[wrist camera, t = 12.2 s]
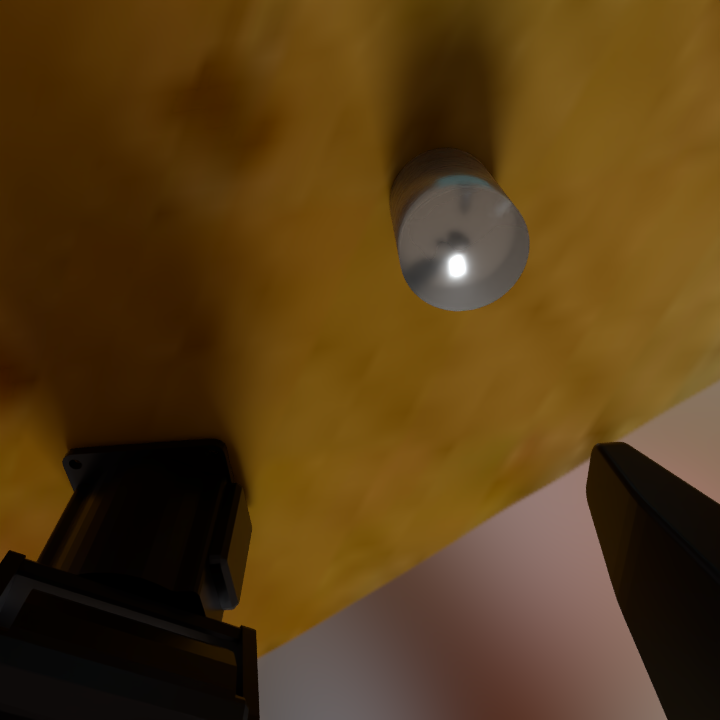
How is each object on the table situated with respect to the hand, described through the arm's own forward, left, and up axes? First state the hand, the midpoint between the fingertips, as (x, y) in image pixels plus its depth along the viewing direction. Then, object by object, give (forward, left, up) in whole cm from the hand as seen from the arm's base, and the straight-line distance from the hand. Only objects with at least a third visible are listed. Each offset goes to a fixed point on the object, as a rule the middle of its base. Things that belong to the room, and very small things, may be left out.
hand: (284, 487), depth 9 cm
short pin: (+4, 0, -13) cm, 14 cm away
